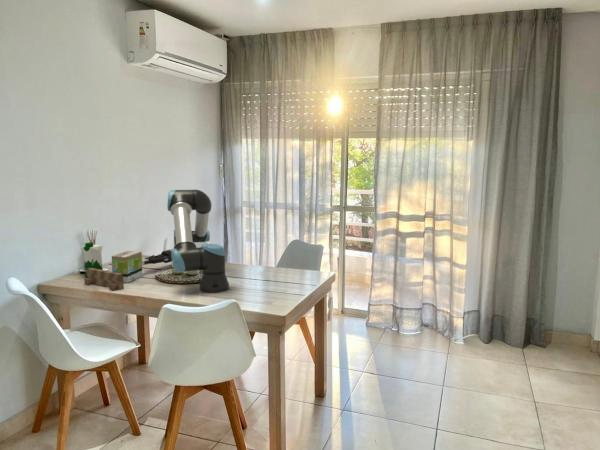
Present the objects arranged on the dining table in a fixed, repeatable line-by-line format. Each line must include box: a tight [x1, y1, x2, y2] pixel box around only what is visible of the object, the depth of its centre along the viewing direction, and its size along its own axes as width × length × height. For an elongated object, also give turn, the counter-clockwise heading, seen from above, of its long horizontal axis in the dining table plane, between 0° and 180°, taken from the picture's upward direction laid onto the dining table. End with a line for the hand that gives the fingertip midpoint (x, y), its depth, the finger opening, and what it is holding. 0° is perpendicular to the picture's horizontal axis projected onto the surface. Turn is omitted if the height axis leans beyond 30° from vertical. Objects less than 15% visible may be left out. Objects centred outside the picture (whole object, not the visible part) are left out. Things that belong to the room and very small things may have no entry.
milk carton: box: [81, 242, 104, 279], centre depth 269 cm, size 9×9×20 cm
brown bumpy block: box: [83, 268, 125, 292], centre depth 250 cm, size 26×5×8 cm, turn 60°
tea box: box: [111, 250, 143, 284], centre depth 264 cm, size 15×10×15 cm, turn 168°
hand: (139, 263), depth 272 cm, fingers closed
